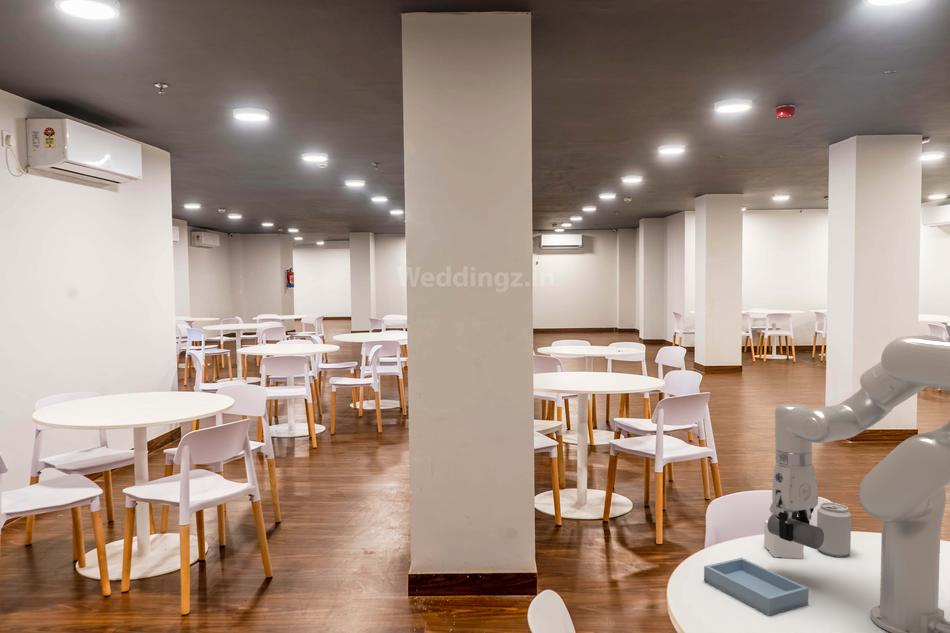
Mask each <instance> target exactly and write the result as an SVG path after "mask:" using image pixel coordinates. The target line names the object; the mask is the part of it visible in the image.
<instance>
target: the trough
mask: <svg viewBox="0 0 950 633" xmlns="http://www.w3.org/2000/svg"><path fill="white" fill-rule="evenodd" d="M703 570H704V571H703V582H704V581H705V582H704V583H706V584H708V583H709V584H708V585H710V586H712V587H714V588H715V589H717V588H718V589H717V590H719V589H720V590H719V591H721V592H723V593H724V594H727V595H729V596H731V597H732V598H735V599H736V600H739V601H740V602H742V603H744V604H746V605H747V606H749V607H751V608H753V609H755V610H757V611H759V612H761V613H763V614H765V615H766V616H768V617H770V616H773V615H777V614H781V613H784V612H787V611H791V610H794V609H798V608H801V607H805V606H808V605H809V587H807V586H804V585H802V584H800V583H798V582H797V581H793V580H792V579H790V578H787V577H785V576H783V575H780V574H778V573H776V572H774V571H771V570H770V569H768V568H765V567H763V566H761V565H759V564H756V563H754V562H751V561H750V560H747V559H745V558H743V557H739V558H738V557H737V558H734V559H729V560H725V561H721V562H717V563H711V564H708V565H707V564H706V565H704V566H703Z"/></svg>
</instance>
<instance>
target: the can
mask: <svg viewBox="0 0 950 633" xmlns="http://www.w3.org/2000/svg"><path fill="white" fill-rule="evenodd" d="M816 513H817V515H816V516H817V517H816V527H820V528H821V529H822V530H823V533H824V541H823V543H822V545H821V547H820V548H818V550H819V551H820V552H821V553H823V554H825V555H827V556H830V557H835V558H836V557H837V558H838V557H840V558H843V557H847V555H849V554H850V553H851V542H852V541H851V539H852V538H851V537H852V536H851V535H852V513H851V512H850V511H849V507H848V506H847V505H844V504H841V503H837V502H831V501H830V502H828V501H827V502H821V503H820V507H818V508H817V512H816Z"/></svg>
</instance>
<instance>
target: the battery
mask: <svg viewBox="0 0 950 633" xmlns="http://www.w3.org/2000/svg"><path fill="white" fill-rule="evenodd" d="M767 520H768V524H767V526H768V530H769V532H770V533H771V534H774V535H777V536H779V521H778V520H777V517H776V516H775V515H774V514H773V515H771V514H770V516H769V518H768V519H767ZM791 524H793V541H794V542H796V543H799V544H802V545H804V546H805V547H808V548H811V549H814V550H817V549H818V548H820V547H821V545H822V543H823V541H824V533H823V530H822V529H821V528H820V527H817V525H813V524H807V523H804V522H801V521H798V520H794V519H791ZM818 550H819V549H818Z"/></svg>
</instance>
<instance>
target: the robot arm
mask: <svg viewBox="0 0 950 633" xmlns="http://www.w3.org/2000/svg"><path fill="white" fill-rule="evenodd" d="M880 360H881V361H879V362H878V363H876V364H875V365H873V366H872V367H870V368H869V369H867V370H865V371H864V372H863V373H862V374H861V376H860V377H859V383H860V387H861V388H860V389H859V390H858V391H857V392H855V393H854V394H853V395H850V396H849V397H848V398H846V399H845V400H843V401H842V402H840V403H838V404H837V405H829V406H828V405H827V406H822V407H815V408H813V407H812V408H810V407H809V406H808V405H805V404H799V403H782V404H781V403H779V405H777V406H776V407H775V412H774V413H775V414H774V418H775V419H774V423H775V424H774V426H775V427H774V428H775V429H774V432H775V433H774V434H775V435H774V437H775V439H774V440H775V441H774V443H775V447H774V448H775V457H774V458H775V464H774V469H773V475H772V489H771V490H772V491H771V498H772V503H771V505H770V507H769V511H770V513H771V512H772V513H773V514H774V515H775V516H776V517H777V520H778V521H779V537H780V538H781V539H784V540H787V541H790V542H791V541H793V524H791V518H792V512H796V511H797V517H796V520H798V521H801V522H804V523H807V524H810V520H811V519H812V513H814V509H815V508H816V507H817V506H818V505H819V491H818V479H817V472H816V469H815V464H814V463H813V443H814V444H825V443H831V442H836V441H841V440H847V439H851V438H853V437H855V436H857V435H859V434H861V433H862V432H864V431H865V430H867V429H869V428H871V427H873V426H875V425H876V424H878V422H880V421H881V420H883V419H884V418H886V416H888V415H889V413H890V412H892V411H893V410H894V408H895V407H897V406H899V405H900V404H901V403H904V402H905V401H907V400H908V399H910V398H911V397H913V396H915V395H917V394H918V393H919V392H921V391H923V390H925V389H927V388H933V389H940V390H946V391H950V342H949V341H946V340H945V339H943V338H941V337H938V336H935V335H923V334H922V335H907V336H901V337H897V338H895V339H893V340H892V341H890V342H889V343H888V344H887V345H886V346H885V347H884V349H883V350H882V353H881V359H880ZM948 485H950V420H949V421H947V423H946V424H944V425H942V426H941V427H940V428H937V429H935V430H932V431H927V432H922V433H917V434H914V435H912V436H910V437H908V438H907V439H904V441H901V442H900V443H899V444H898V445H897V446H896V447H895V448H893V449H892V450H891V451H890V452H889V453H888V454H887V455H886V456H885V457H884V458H883V459H882V460H881V461H879V463H877V465H875V466H874V467H873V468H872V469H871V470H869V472H868V473H867V474H866V475H865V476H864V477H863V479H862V480H861V482H860V485H859V488H858V500H859V502H860V505H861V507H862V508H863V510H864V511H865V512H866V513H867V514H868V515H869V516H870V517H872V518H874V519H876V520H877V521H881V522H882V526H881V547H880V548H881V549H880V550H881V552H880V589H879V590H880V591H879V592H880V593H879V605H876V606H874V607H873V608H871V609H870V619H871V620H872V621H873V623H875V625H877V626H878V627H880V628H881V629H884V630H885V631H887V632H889V633H950V621H949V620H947V619H946V618H945V610H943V609H941V608H939V598H940V597H939V592H940V556H941V555H940V553H941V536H942V535H941V534H942V532H941V531H942V524H943V519H944V518H943V517H944V513H945V510H946V502H947V492H946V486H948ZM784 511H786V512H787V513H786V516H785V514H784ZM810 525H811V524H810Z"/></svg>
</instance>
